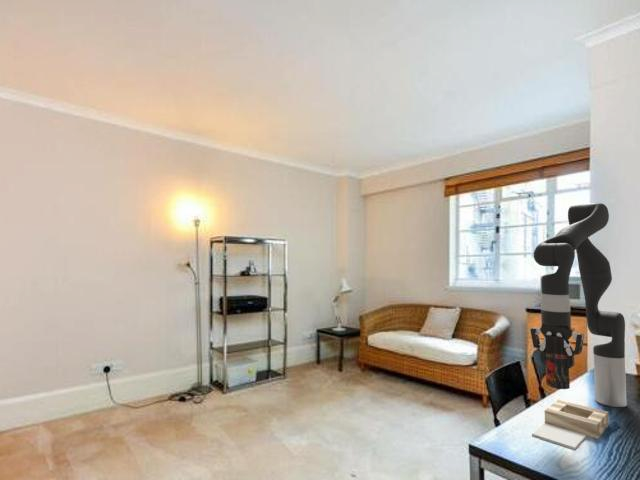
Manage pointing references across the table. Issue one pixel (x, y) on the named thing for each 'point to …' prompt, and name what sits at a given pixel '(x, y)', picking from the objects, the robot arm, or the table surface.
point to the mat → (559, 436)
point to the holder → (577, 418)
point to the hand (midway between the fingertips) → (557, 365)
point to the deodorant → (556, 362)
